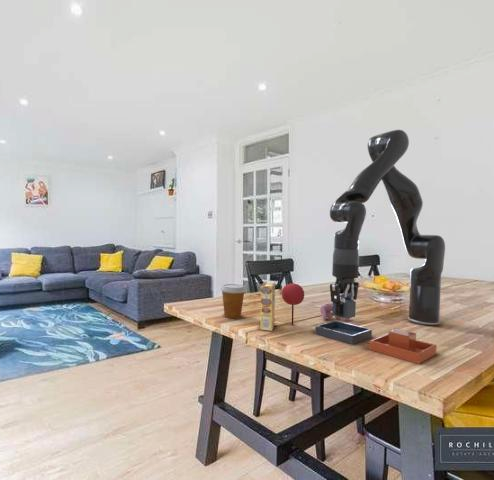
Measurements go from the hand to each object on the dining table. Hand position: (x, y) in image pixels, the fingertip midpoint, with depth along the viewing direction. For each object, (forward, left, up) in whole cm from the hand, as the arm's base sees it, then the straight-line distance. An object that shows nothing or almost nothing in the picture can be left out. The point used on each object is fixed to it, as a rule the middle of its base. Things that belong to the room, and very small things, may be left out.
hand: (343, 314), depth 107 cm
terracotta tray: (0, +17, -7) cm, 18 cm away
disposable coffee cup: (+14, -36, -7) cm, 40 cm away
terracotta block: (0, +17, -6) cm, 18 cm away
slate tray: (0, 0, -7) cm, 7 cm away
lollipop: (+4, -16, -7) cm, 18 cm away
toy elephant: (-17, -12, -7) cm, 22 cm away
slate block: (0, 0, -1) cm, 1 cm away
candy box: (+14, -19, -7) cm, 25 cm away
